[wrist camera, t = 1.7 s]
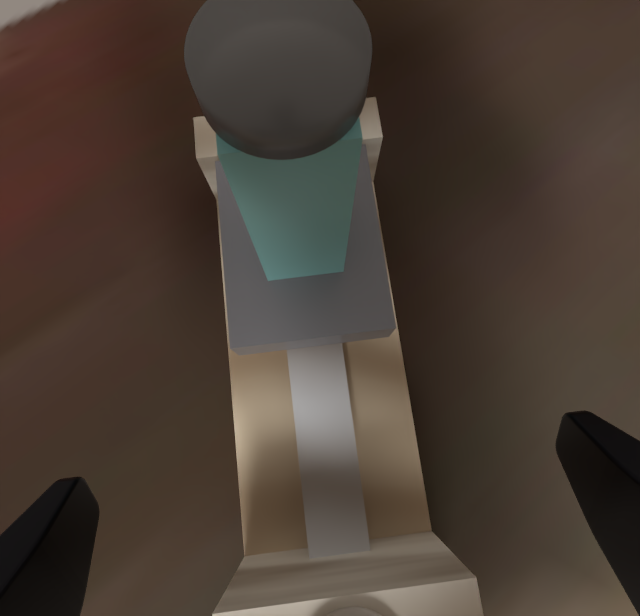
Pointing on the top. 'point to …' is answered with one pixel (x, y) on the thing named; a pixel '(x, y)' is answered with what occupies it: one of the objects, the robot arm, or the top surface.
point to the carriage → (292, 170)
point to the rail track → (279, 443)
